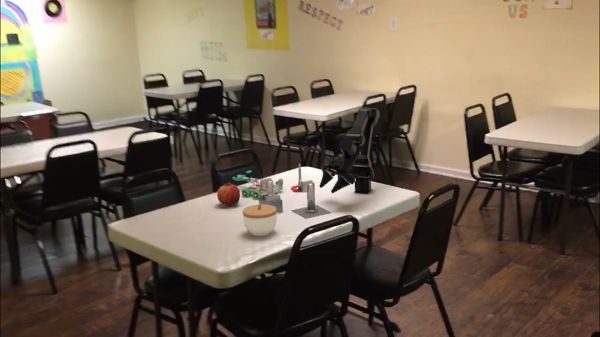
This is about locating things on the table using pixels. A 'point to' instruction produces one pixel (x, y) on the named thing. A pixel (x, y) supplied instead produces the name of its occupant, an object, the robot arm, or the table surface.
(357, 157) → the robot arm
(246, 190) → the robot kit
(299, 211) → the mat
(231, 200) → the fruit
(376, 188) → the table surface
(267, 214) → the lidded bowl
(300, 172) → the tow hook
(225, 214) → the table surface
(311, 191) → the flanged metal post
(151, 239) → the table surface
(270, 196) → the vise
